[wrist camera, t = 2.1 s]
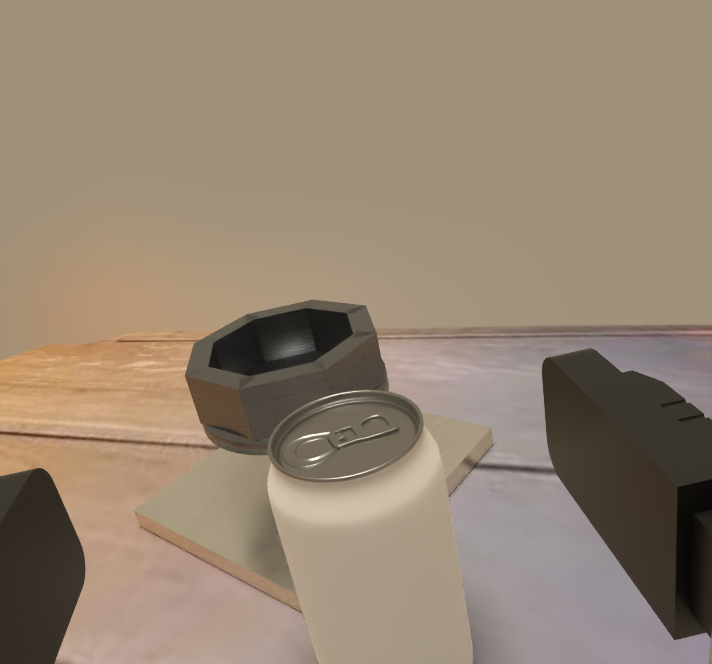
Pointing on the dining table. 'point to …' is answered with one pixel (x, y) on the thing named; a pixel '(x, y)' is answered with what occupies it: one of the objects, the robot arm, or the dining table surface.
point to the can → (369, 531)
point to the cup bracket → (259, 419)
